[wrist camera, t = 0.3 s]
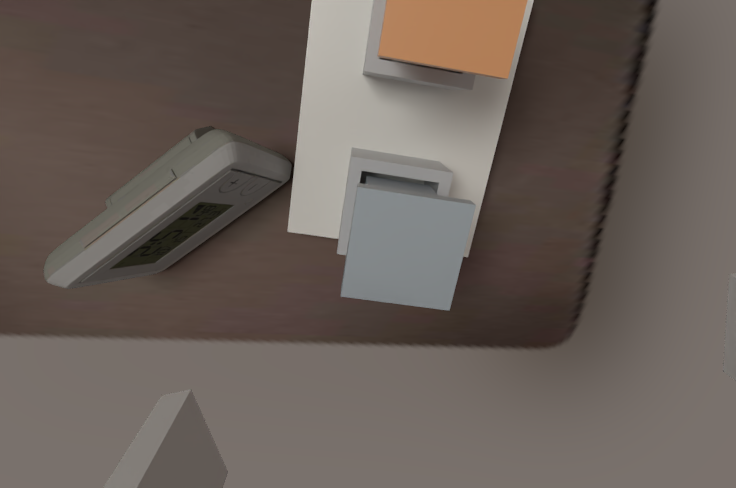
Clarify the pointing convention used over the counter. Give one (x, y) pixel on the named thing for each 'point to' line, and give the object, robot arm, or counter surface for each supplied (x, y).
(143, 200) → the digital clock
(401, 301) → the grey plunger
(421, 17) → the orange plunger
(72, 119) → the counter surface
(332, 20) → the button console
